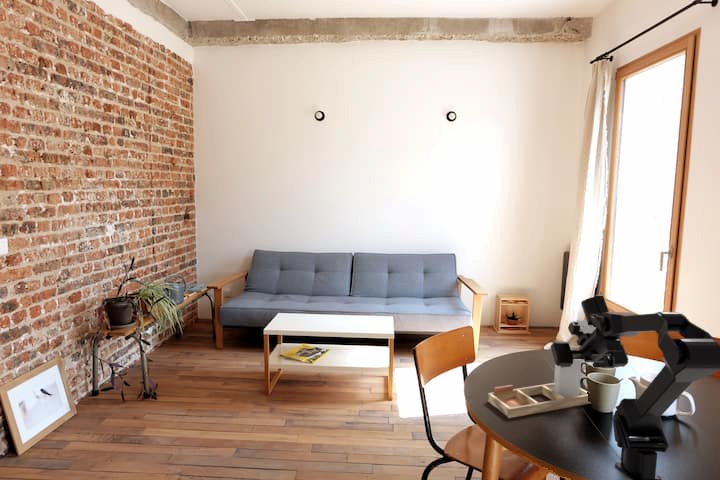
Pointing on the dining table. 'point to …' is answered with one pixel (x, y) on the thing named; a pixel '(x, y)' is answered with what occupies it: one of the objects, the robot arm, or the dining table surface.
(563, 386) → the pale grey upright block
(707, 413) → the dining table surface
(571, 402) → the organiser
